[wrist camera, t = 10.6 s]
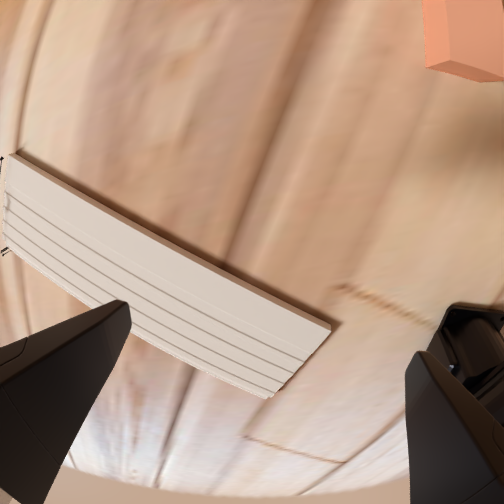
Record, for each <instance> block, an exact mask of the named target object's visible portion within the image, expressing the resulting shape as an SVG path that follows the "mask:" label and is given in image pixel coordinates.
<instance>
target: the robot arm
mask: <svg viewBox="0 0 504 504" xmlns="http://www.w3.org/2000/svg"><path fill="white" fill-rule="evenodd" d="M453 311H454V312H453ZM451 312H453V313H451ZM501 317H502V318H501ZM503 325H504V311H496V310H488V309H480V308H471V307H463V306H456V305H452V306H450V307H449V308H448V309H447V310H446V313H445V315H444V317H443V319H442V321H441V323H440V326H439V328H438V330H437V331H436V332H435V334H434V336H433V338H432V340H431V342H430V344H429V346H428V348H427V350H426V351H417V352H416V353H415V354H414V356H413V358H412V360H411V362H410V363H409V365H408V367H407V369H406V372H405V415H406V429H407V440H408V453H409V471H410V504H504V338H503V336H502V334H501V333H500V330H501V328H502V326H503ZM131 327H132V319H131V313H130V307H129V304H128V302H126V301H122V300H118V299H116V300H113V301H111V302H108V303H106V304H104V305H101V306H99V307H97V308H94V309H92V310H89V311H87V312H85V313H82V314H80V315H78V316H75V317H73V318H70V319H68V320H66V321H63V322H61V323H59V324H56V325H54V326H51V327H49V328H47V329H44V330H42V331H40V332H37V333H35V334H33V335H30V336H29V337H25V338H23V339H21V340H19V341H16V342H14V343H11V344H9V345H6V346H3V347H0V504H9V503H10V501H11V499H12V498H14V499H15V500H17V501H18V502H19V503H21V504H43V503H44V501H45V499H46V497H47V494H48V492H49V490H50V488H51V486H52V484H53V482H54V479H55V477H56V475H57V474H58V471H59V469H60V466H61V465H62V463H63V461H64V459H65V457H66V455H67V453H68V451H69V449H70V447H71V445H72V443H73V441H74V439H75V437H76V435H77V434H78V432H79V430H80V428H81V426H82V424H83V422H84V420H85V418H86V417H87V415H88V413H89V411H90V409H91V407H92V406H93V404H94V402H95V400H96V398H97V396H98V395H99V393H100V391H101V389H102V387H103V386H104V384H105V382H106V380H107V379H108V377H109V375H110V373H111V372H112V370H113V368H114V366H115V364H116V362H117V360H118V357H119V355H120V353H121V350H122V348H123V346H124V344H125V341H126V339H127V337H128V335H129V332H130V330H131Z"/></svg>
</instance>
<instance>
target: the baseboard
mask: <svg viewBox="0 0 504 504" xmlns="http://www.w3.org/2000/svg"><path fill="white" fill-rule="evenodd" d="M2 159H4V158H3V157H1V158H0V160H1V163H2ZM0 172H1V166H0ZM5 181H6V183H5V191H4V206H3V211H4V212H3V223H2V224H3V233H2V239H3V240H5V241H6V246H7V247H6V248H4V249H3V250H1V253H2V252H4V251H6V250H7V249H8V248H9V249H11V250H12V251H13V252H14V253H15V254H17V255H18V256H19V257H21V258H22V259H23V260H24V261H26V262H27V263H28V264H30V265H31V266H32V267H33V268H35V269H36V270H37V271H39V272H40V273H41V274H43V275H44V276H46V277H47V278H48V279H50V280H51V281H52V282H54V283H55V284H57V285H58V286H59V287H61V288H62V289H64V290H65V291H67V292H68V293H69V294H71V295H72V296H74V297H75V298H77V299H78V300H80V301H81V302H83V303H84V304H86V305H87V306H89V307H90V308H92V309H94V308H97V307H99V306H101V305H104V304H106V303H108V302H111V301H113V300H116V299H118V300H122V301H126V302H128V304H129V307H130V313H131V319H132V327H131V330H130V332H131V333H133V334H134V335H136V336H138V337H140V338H141V339H143V340H145V341H147V342H148V343H150V344H152V345H154V346H156V347H157V348H159V349H161V350H163V351H165V352H167V353H168V354H170V355H172V356H174V357H176V358H178V359H180V360H182V361H184V362H186V363H188V364H190V365H192V366H194V367H196V368H198V369H200V370H202V371H204V372H206V373H208V374H210V375H212V376H214V377H216V378H218V379H220V380H223V381H225V382H227V383H229V384H231V385H234V386H236V387H238V388H240V389H243V390H245V391H247V392H249V393H252V394H254V395H256V396H259V397H261V398H264V399H267V398H268V397H272V396H273V395H274V394H275V393H276V392H277V391H278V390H279V389H280V387H282V386H283V385H284V383H285V382H286V381H287V380H288V379H289V378H290V377H291V376H292V375H293V374H294V373H295V371H296V370H297V369H298V368H299V367H300V366H302V364H303V363H304V362H305V360H306V359H307V358H308V357H309V356H310V355H311V354H312V353H313V352H314V351H315V350H316V349H317V348H318V347H319V345H320V344H321V343H322V342H323V341H324V340H325V338H326V337H327V336H328V335H329V334H330V333H331V325H330V324H328V323H326V322H324V321H322V320H320V319H318V318H316V317H314V316H312V315H310V314H308V313H306V312H304V311H302V310H300V309H298V308H296V307H294V306H292V305H290V304H288V303H286V302H284V301H282V300H280V299H278V298H276V297H274V296H272V295H270V294H268V293H266V292H265V291H263V290H261V289H259V288H257V287H255V286H253V285H251V284H249V283H247V282H245V281H243V280H241V279H239V278H237V277H235V276H234V275H232V274H230V273H228V272H226V271H224V270H222V269H220V268H218V267H216V266H214V265H213V264H211V263H209V262H207V261H205V260H203V259H201V258H199V257H197V256H196V255H194V254H192V253H190V252H188V251H186V250H184V249H183V248H181V247H179V246H177V245H175V244H173V243H171V242H170V241H168V240H166V239H164V238H162V237H160V236H158V235H157V234H155V233H153V232H151V231H149V230H148V229H146V228H144V227H142V226H140V225H138V224H137V223H135V222H133V221H131V220H129V219H128V218H126V217H124V216H122V215H120V214H119V213H117V212H115V211H113V210H111V209H110V208H108V207H106V206H104V205H103V204H101V203H99V202H97V201H96V200H94V199H92V198H90V197H89V196H87V195H85V194H83V193H82V192H80V191H78V190H76V189H75V188H73V187H71V186H69V185H68V184H66V183H64V182H62V181H61V180H59V179H57V178H56V177H54V176H52V175H50V174H49V173H47V172H45V171H44V170H42V169H40V168H39V167H37V166H35V165H34V164H32V163H30V162H29V161H27V160H25V159H23V158H22V157H20V156H19V155H17V154H15V153H12V154H9V155H8V159H7V167H6V176H5ZM7 253H8V252H7ZM5 254H6V253H5ZM5 254H4V253H3V255H2V256H3V257H4V255H5Z"/></svg>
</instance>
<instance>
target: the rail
mask: <svg viewBox="0 0 504 504" xmlns="http://www.w3.org/2000/svg"><path fill="white" fill-rule="evenodd" d="M422 9H423V20H424V34H425V57H426V68H429V69H433V70H437V71H442V72H445V73H449V74H453V75H457V76H460V77H464V78H467V79H470V80H474V81H477V82H489V81H503V80H504V10H503V4H502V0H422Z"/></svg>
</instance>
